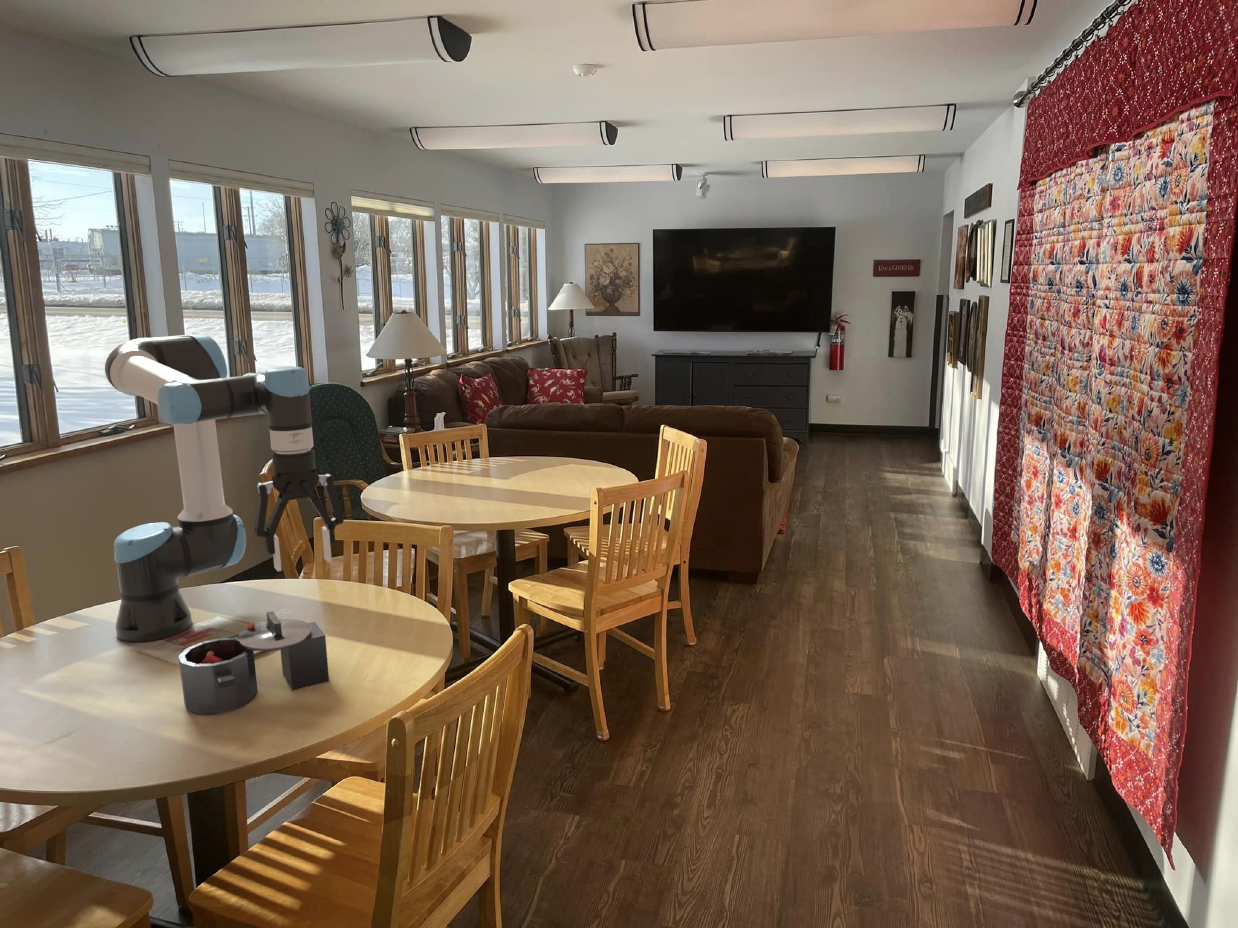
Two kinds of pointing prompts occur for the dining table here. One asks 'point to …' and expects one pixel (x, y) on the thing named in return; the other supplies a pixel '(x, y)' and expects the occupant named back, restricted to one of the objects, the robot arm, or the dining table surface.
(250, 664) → the pot
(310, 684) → the block
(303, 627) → the lid
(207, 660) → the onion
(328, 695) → the dining table surface
